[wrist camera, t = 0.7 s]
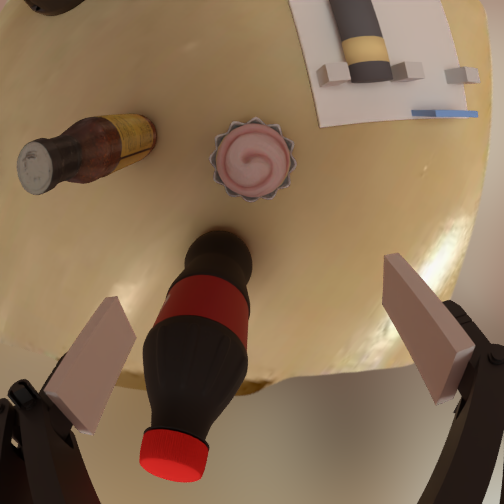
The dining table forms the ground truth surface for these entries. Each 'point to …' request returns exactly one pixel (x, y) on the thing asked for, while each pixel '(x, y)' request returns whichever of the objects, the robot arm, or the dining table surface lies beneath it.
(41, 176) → the sauce bottle
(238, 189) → the cupcake
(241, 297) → the cola bottle
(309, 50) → the white base plate
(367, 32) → the banded cylinder post
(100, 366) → the robot arm
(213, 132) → the dining table surface
